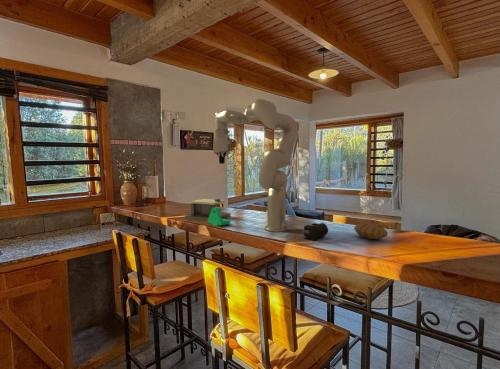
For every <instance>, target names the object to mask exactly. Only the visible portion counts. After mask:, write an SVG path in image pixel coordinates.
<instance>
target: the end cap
mask: <svg viewBox="0 0 500 369" xmlns="http://www.w3.org/2000/svg"><path fill="white" fill-rule="evenodd" d="M303 230H304V231H308V232H303V236H304V240H305V241H306V240H307V241H311V242H312V241H315V240H318V239H322V238H323V237H325V236H326V235H328V233H329V226H327V224H326V223H324V222H322V223H321V222H320V223H315V222H313V223H311V224H306V225H304V226H303Z"/></svg>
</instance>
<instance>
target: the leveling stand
mask: <svg viewBox="0 0 500 369" xmlns="http://www.w3.org/2000/svg"><path fill="white" fill-rule="evenodd" d="M215 207H216V204H215V205H210V204H197V203H191V202H190V214H188V215H187V214H186V215H184V220H192V221H200V220H201V222H208V218H209V215H210V213H211V210H212V208H215ZM220 216H221V218H222V219H226V218H230V217H231V213H230V212H221V213H220Z"/></svg>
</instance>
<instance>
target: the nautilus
mask: <svg viewBox="0 0 500 369" xmlns="http://www.w3.org/2000/svg"><path fill="white" fill-rule="evenodd" d="M353 229H354V231H355V232H356V233H357V234H358V236H361V237H364V239H368V240H377V241H379V240H380V239H383V238H386V237H387V236H388V234H389V232H388V231H387V230H386V229H385V228H384V227H383V226H382V225H380V223H379V222H376V221H371V220H363V221H359V222H358V223H357V224H356V225H355V226H354V227H353Z"/></svg>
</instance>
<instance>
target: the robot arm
mask: <svg viewBox="0 0 500 369" xmlns="http://www.w3.org/2000/svg"><path fill="white" fill-rule="evenodd" d="M259 120H260V122H261V123H262V124H263V125H265V127H266V128H268V129H270V130H274V131H280V132H281V134H280V135H279V138H278V140H277V143H276V146H275V148H271V149H269V150H267V151H266V152H265V154H264V155H263V157H262V161H261V166H260V169H259V173H258V183H259V186H260V187H261V188H262V189H266V190H268V193H267V225H265V226H264V230H265V231H268V232H273V233H274V232H276V233H278V232H286V231H288V230H289V228H293V227H294V224H293V223H290V222H288V220H286V211H287V210H286V209H287V207H286V205H287V204H286V198H287V197H286V194H287V186H288V175H287V174H286V172H284V171H283V170H281V169H282V168H283V169H284V168H286V167H288V166H289V165H290V162H291V158H292V155H293V150H294V148H295V142H296V140H297V137H298V134H299V126H298V123H297V121H296V120H295V118H293V117H292V116H291V115H288V114H285V113H281V112H277V107H276V105H275V104H274V103H273V102H271V101H270V100H266V99H262V98H258V99H256V100H255V101H253V102H252V104H250V105H247V106H246V107H245V110H243V111H238V110H237V111H236V110H232V109H225V110H223V111H217V112H215V113H214V125H215V127H214V128H215V129H214V130H215V131H214V132H215V133H214V136H213V144H212V145H213V147H212V149H213V154H214V155H217V157H218V162H219V164H220V165H223V164H224V165H225V159H226V156H227V155H230V154H231V150H232V147H231V137H230V135H229V133H230V130H229V124H233V125H237V126H239V125H240V126H241V125H245V124H250V123H251V122H253V121H259Z"/></svg>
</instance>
